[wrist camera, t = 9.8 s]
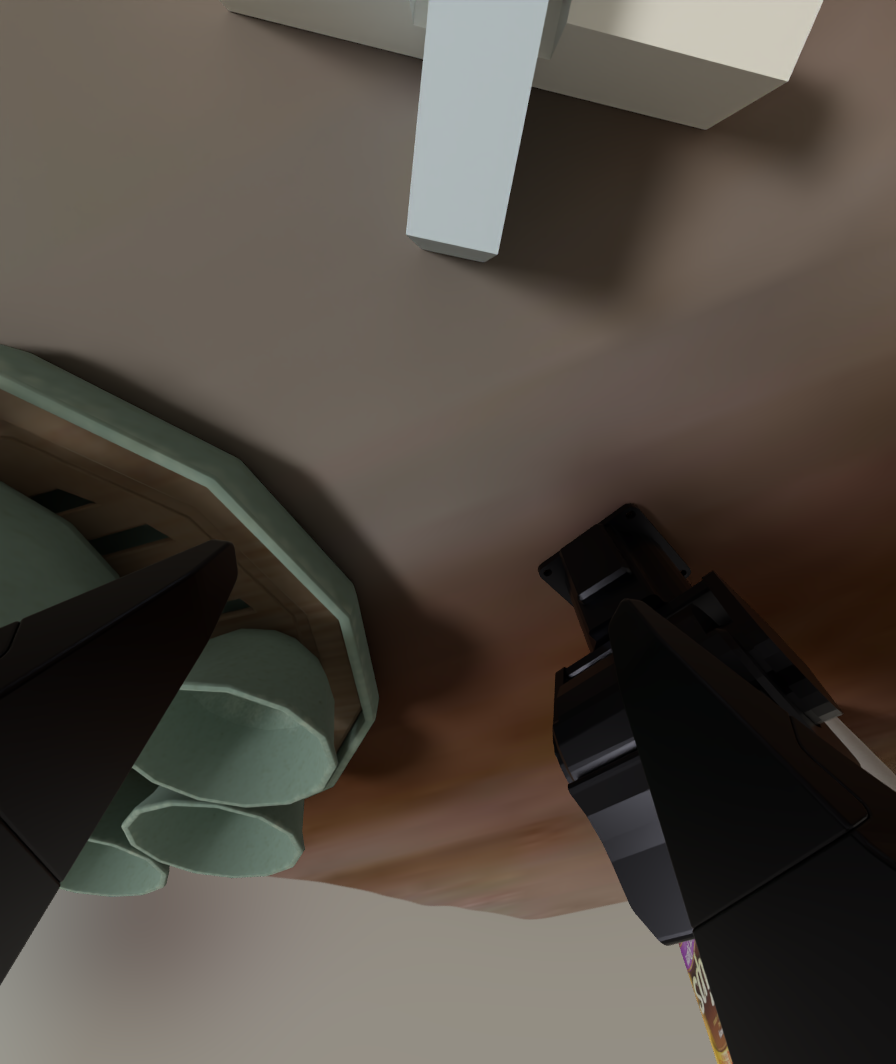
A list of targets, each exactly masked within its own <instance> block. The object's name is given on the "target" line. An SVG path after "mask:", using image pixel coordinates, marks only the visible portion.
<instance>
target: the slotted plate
mask: <svg viewBox="0 0 896 1064" xmlns="http://www.w3.org/2000/svg"><path fill="white" fill-rule="evenodd" d="M548 2H549V0H429V5H428V15H427V25H426V35H425V46H424V56H423V66H422V76H421V86H420V97H419V107H418V117H417V127H416V138H415V148H414V158H413V168H412V179H411V189H410V199H409V209H408V220H407V230H406V235H407V236H408V237H409V238H410V239H411V240H412V241H413V242H414V243H416V244H417V245H418V246H419V247H420V248H421V249H423V250H427V251H432V252H437V253H441V254H446V255H451V256H455V257H460V258H465V259H469V260H474V261H479V262H483V263H484V262H486V261H488V260H489V259H491V258H493V257H494V256H496V255H498V251H499V246H500V241H501V236H502V231H503V226H504V221H505V216H506V211H507V206H508V201H509V196H510V191H511V186H512V181H513V176H514V171H515V166H516V161H517V156H518V151H519V146H520V141H521V136H522V131H523V126H524V121H525V116H526V111H527V106H528V101H529V96H530V91H531V86H532V81H533V76H534V71H535V66H536V62H537V57H538V52H539V47H540V42H541V37H542V32H543V27H544V22H545V17H546V12H547V7H548Z"/></svg>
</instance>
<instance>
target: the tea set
mask: <svg viewBox="0 0 896 1064" xmlns="http://www.w3.org/2000/svg"><path fill="white" fill-rule="evenodd" d="M212 539H217V540H223V541H230V542H232V543H233V545H234V547H235V553H236V560H237V568H238V577H237V581H236V583H235V585H234V587H233V590H232V592H231V594H230V596H229V598H228V601H227V603H226V605H225V607H224V609H223V612H222V614H221V616H220V618H219V620H218V622H217V625H216V627H215V629H214V631H213V633H212V635H211V637H210V639H209V641H208V643H207V645H206V646H205V648H204V650H203V652H202V653H201V655H200V657H199V658H198V660H197V661H196V663H195V665H194V666H193V668H192V670H191V671H190V673H189V675H188V676H187V678H186V680H185V681H184V683H183V685H182V686H181V688H180V689H179V691H178V693H177V694H176V696H175V698H174V699H173V701H172V703H171V704H170V706H169V708H168V709H167V711H166V713H165V714H164V716H163V717H162V719H161V721H160V722H159V724H158V726H157V727H156V729H155V731H154V732H153V734H152V736H151V737H150V739H149V741H148V742H147V744H146V745H145V747H144V749H143V750H142V752H141V754H140V755H139V757H138V759H137V760H136V762H135V764H134V765H133V767H132V769H131V770H130V772H129V773H128V775H127V777H126V778H125V780H124V782H123V783H122V785H121V787H120V788H119V790H118V792H117V793H116V795H115V797H114V798H113V800H112V801H111V803H110V805H109V806H108V808H107V810H106V811H105V813H104V815H103V816H102V818H101V820H100V821H99V823H98V825H97V826H96V828H95V829H94V831H93V833H92V834H91V836H90V838H89V839H88V841H87V843H86V844H85V846H84V848H83V849H82V851H81V853H80V854H79V856H78V857H77V859H76V861H75V862H74V864H73V866H72V867H71V869H70V871H69V872H68V874H67V876H66V877H65V879H64V880H63V881H62V882H60V884H61V886H60V888H59V889H63V890H67V891H71V892H75V893H83V894H92V895H100V896H109V897H115V896H135V895H144V894H147V893H150V892H152V891H155V890H157V889H160V888H163V887H164V886H165V885H166V883H167V878H168V874H169V865H170V866H173V867H176V868H179V869H183V870H186V871H189V872H192V873H198V874H205V875H214V876H221V877H229V878H238V877H239V878H240V877H258V876H269V875H272V874H275V873H277V872H280V871H283V870H286V869H289V868H292V867H294V865H295V864H296V862H297V861H298V859H299V858H300V856H301V855H302V853H303V851H304V850H305V847H304V841H303V834H302V826H303V811H304V799H305V798H308V797H310V796H312V795H315V794H317V793H320V792H322V791H324V790H327V789H329V788H331V787H333V786H334V785H335V783H336V782H337V780H338V778H339V777H340V775H341V774H342V772H343V770H344V769H345V767H346V766H347V764H348V763H349V761H350V759H351V758H352V756H353V755H354V753H355V751H356V750H357V748H358V747H359V745H360V743H361V742H362V740H363V739H364V737H365V735H366V734H367V732H368V731H369V729H370V727H371V726H372V724H373V723H374V721H375V719H376V713H377V707H378V702H379V694H378V690H377V685H376V681H375V676H374V672H373V667H372V662H371V658H370V653H369V649H368V644H367V640H366V635H365V630H364V626H363V621H362V617H361V612H360V608H359V603H358V598H357V594H356V591H355V588H354V585H353V583H352V582H351V581H350V580H349V579H348V578H347V577H346V576H345V575H344V573H343V572H342V571H341V570H340V569H339V568H338V567H337V566H336V565H335V564H334V562H333V561H332V560H331V559H330V558H329V557H328V556H327V555H326V554H325V553H324V551H323V550H322V549H321V548H320V547H319V546H318V545H317V544H316V543H315V542H314V540H313V539H312V538H311V537H310V536H309V535H308V534H307V533H306V532H305V530H304V529H303V528H302V527H301V526H300V525H299V524H298V523H297V522H296V521H295V519H294V518H293V517H292V516H291V515H290V514H289V513H288V512H287V511H286V510H285V508H284V507H283V506H282V505H281V504H280V503H279V502H278V501H277V500H276V499H275V497H274V496H273V495H272V494H271V493H270V492H269V491H268V490H267V489H266V488H265V486H264V485H263V484H262V483H261V482H260V481H259V480H258V479H257V478H256V477H255V475H254V474H253V473H252V472H251V471H250V470H249V469H248V468H247V467H246V466H245V464H244V463H243V462H242V461H241V460H240V459H238V458H236V457H234V456H232V455H230V454H228V453H226V452H224V451H223V450H221V449H219V448H217V447H215V446H213V445H211V444H209V443H207V442H205V441H203V440H201V439H199V438H197V437H195V436H193V435H191V434H189V433H187V432H185V431H183V430H181V429H179V428H177V427H175V426H173V425H171V424H169V423H167V422H165V421H163V420H161V419H159V418H158V417H156V416H154V415H152V414H150V413H148V412H146V411H144V410H142V409H140V408H138V407H136V406H134V405H132V404H130V403H128V402H126V401H124V400H122V399H120V398H118V397H116V396H114V395H112V394H110V393H108V392H106V391H104V390H102V389H100V388H98V387H96V386H94V385H93V384H91V383H89V382H87V381H85V380H83V379H81V378H79V377H77V376H75V375H73V374H71V373H69V372H67V371H65V370H63V369H61V368H59V367H57V366H55V365H53V364H51V363H49V362H47V361H45V360H43V359H41V358H39V357H37V356H35V355H33V354H31V353H29V352H26V351H22V350H19V349H15V348H12V347H8V346H5V345H2V344H0V628H1V627H3V626H6V625H8V624H10V623H13V622H15V621H19V622H21V620H22V619H23V618H25V617H27V616H30V615H32V614H35V613H37V612H39V611H42V610H44V609H46V608H49V607H51V606H54V605H56V604H58V603H61V602H63V601H66V600H68V599H70V598H73V597H75V596H78V595H80V594H82V593H85V592H87V591H89V590H92V589H94V588H97V587H99V586H101V585H104V584H106V583H109V582H111V581H113V580H116V579H118V578H121V577H123V576H125V575H128V574H130V573H133V572H135V571H137V570H140V569H142V568H144V567H147V566H149V565H152V564H154V563H156V562H159V561H161V560H164V559H166V558H168V557H171V556H173V555H176V554H178V553H180V552H183V551H185V550H187V549H190V548H192V547H195V546H197V545H199V544H202V543H204V542H207V541H209V540H212Z"/></svg>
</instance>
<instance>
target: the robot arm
mask: <svg viewBox="0 0 896 1064" xmlns="http://www.w3.org/2000/svg"><path fill="white" fill-rule="evenodd" d="M630 511H633V512H632V514H631V515H628V516H626V514H627V513H628V512H630ZM547 569H550V571H548V572H544V571H545V570H547ZM681 570H682V571H681ZM680 571H681V572H680ZM538 572H539V575H540V577H541V578H542V579H543V580H544V581H545V582H547V583H548V584H549V585H550V586H551V587H552V588H553V589H554V590H555V591H557V592H558V593H559V594H560V595H561V596H562V597H563V598H564V599H565V600H567V601H568V602H569V603H570V604H571V605H572V606H573V607H574V609H575V612H576V615H577V617H578V620H579V623H580V625H581V628H582V631H583V634H584V636H585V639H586V642H587V644H588V647H589V650H590V653H589V654H588V655H586V656H585V657H583V658H582V659H580V660H579V661H577V662H575V663H574V664H572V665H571V666H569V667H568V668H566V667H564V668H562V669H561V670H559V671H558V672H556V675H555V696H554V718H553V744H554V751H555V755H556V757H557V759H558V762H559V764H560V767H561V769H562V771H563V773H564V775H565V777H566V779H567V781H568V782H569V784H568V790H569V792H570V794H571V795H572V797H573V798H574V799H575V801H576V802H577V803H578V805H579V806H580V808H581V809H582V810H583V812H584V813H585V814H586V816H587V817H588V819H589V821H590V822H591V824H592V826H593V828H594V829H595V831H596V833H597V834H598V836H599V838H600V840H601V841H602V843H603V845H604V848H605V850H606V852H607V854H608V856H609V858H610V860H611V862H612V865H613V867H614V869H615V872H616V874H617V876H618V879H619V881H620V883H621V885H622V888H623V890H624V892H625V895H626V897H627V899H628V902H629V904H630V906H631V908H632V909H633V911H634V912H635V914H636V915H637V916H638V917H639V918H640V919H641V921H643V923H644V924H645V925H646V926H647V927H648V929H649V930H650V931H651V932H652V933H653V934H654V936H655V937H656V938H657V939H658V940H659V941H660V942H661V943H662V944H664V945H667V946H669V945H673V944H677V943H681V942H686V941H690V940H694V939H695V942H696V945H697V948H698V951H699V955H700V958H701V961H702V965H703V968H704V971H705V974H706V978H707V981H708V984H709V988H710V991H711V994H712V997H713V1001H714V1004H715V1007H716V1011H717V1014H718V1017H719V1020H720V1024H721V1027H722V1030H723V1034H724V1037H725V1040H726V1043H727V1047H728V1050H729V1053H730V1057H731V1060H732V1063H733V1064H896V792H895V791H894V790H893V789H891V788H890V787H888V786H887V785H885V784H884V783H883V782H881V781H880V780H878V779H877V778H876V777H874V776H873V775H871V774H870V773H869V772H867V771H866V770H864V769H863V768H862V767H861V765H860V763H859V761H858V760H857V759H856V757H855V756H854V755H853V754H852V753H851V751H850V750H849V749H848V748H847V747H846V746H845V745H844V743H843V742H842V741H841V740H840V739H839V738H838V737H837V735H836V734H835V733H834V732H833V731H832V730H831V729H830V728H829V726H828V725H827V724H826V723H825V722H826V721H828V720H831V719H833V718H835V717H838V716H840V715H842V714H843V712H842V711H841V709H840V708H839V707H838V705H837V704H836V703H835V702H834V700H833V699H832V698H831V696H830V695H829V694H828V692H827V691H826V690H825V689H824V687H823V686H822V685H821V683H820V682H819V681H818V680H817V678H816V677H815V676H814V674H813V673H812V672H811V670H810V669H809V668H808V667H807V665H806V664H805V663H804V662H803V661H802V660H801V659H800V658H799V657H798V656H797V655H796V654H795V652H794V651H793V650H792V649H791V648H790V647H789V646H788V645H787V644H786V643H785V642H784V641H783V640H782V639H781V637H780V636H779V635H778V634H777V633H776V632H775V631H774V630H773V629H772V628H771V627H770V626H769V625H768V624H767V623H766V622H765V621H764V620H763V619H762V618H761V617H760V616H759V615H758V614H757V613H756V612H755V611H754V610H753V609H752V608H751V607H750V606H749V605H748V604H747V603H746V602H745V601H744V600H743V599H742V598H741V597H740V596H739V595H738V594H737V593H736V592H735V591H734V590H733V589H732V588H731V587H729V586H728V585H727V584H726V583H725V582H724V581H723V580H722V579H721V578H720V577H719V576H718V575H717V574H716V573H715V572H714V571H711V572H710V573H708V574H707V575H705V576H704V577H702V579H703V580H702V581H701V582H699V583H698V584H696V585H694V586H693V587H692V586H691V585H690V584H689V583H688V581H687V580H686V578H687V577H688V576H689V575H690V573H691V570H690V568H689V567H688V566H687V565H686V563H685V562H684V561H683V560H682V559H681V558H680V556H679V555H678V554H677V553H676V552H675V551H674V549H673V548H672V547H671V546H670V545H669V544H668V542H667V541H666V540H665V539H664V538H663V537H662V535H661V534H660V533H659V532H658V531H657V530H656V528H655V527H654V526H653V525H652V524H651V522H650V521H649V520H648V519H647V518H646V517H645V515H644V514H643V513H642V512H641V511H640V510H639V508H638V507H637V506H636V505H634V504H631V503H629V504H625V505H623V506H622V507H621V508H619V509H618V510H616V511H615V512H613V513H612V514H611V515H609V516H608V517H606V518H605V519H604V520H602V521H601V522H599V523H598V524H596V525H594V526H593V527H591V528H590V529H589V530H587V531H586V532H584V533H583V534H581V535H580V536H579V537H577V538H576V539H574V540H573V541H572V542H570V543H569V544H567V545H566V546H565V547H563V548H562V549H561V550H560V551H559V552H557V553H556V554H554V555H553V556H552V557H550V558H549V559H547V560H546V561H544V562H543V563H542V564H541V565H540V566H539V567H538ZM237 577H238V568H237V560H236V553H235V547H234V545H233V543H232V542H230V541H223V540H217V539H212V540H209V541H207V542H204V543H202V544H199V545H197V546H195V547H192V548H190V549H187V550H185V551H183V552H180V553H178V554H176V555H173V556H171V557H168V558H166V559H164V560H161V561H159V562H156V563H154V564H152V565H149V566H147V567H144V568H142V569H140V570H137V571H135V572H133V573H130V574H128V575H125V576H123V577H121V578H118V579H116V580H113V581H111V582H109V583H106V584H104V585H101V586H99V587H97V588H94V589H92V590H89V591H87V592H85V593H82V594H80V595H78V596H75V597H73V598H70V599H68V600H66V601H63V602H61V603H58V604H56V605H54V606H51V607H49V608H46V609H44V610H42V611H39V612H37V613H35V614H32V615H30V616H27V617H25V618H23V619H22V620H21V622H19V621H15V622H13V623H10V624H8V625H6V626H3V627H1V628H0V985H1V983H2V982H3V980H4V978H5V977H6V975H7V973H8V972H9V970H10V968H11V967H12V965H13V964H14V962H15V960H16V959H17V957H18V955H19V954H20V952H21V950H22V949H23V947H24V945H25V944H26V942H27V940H28V939H29V937H30V935H31V934H32V932H33V931H34V928H35V927H36V926H37V924H38V922H39V921H40V919H41V917H42V916H43V914H44V912H45V911H46V909H47V908H48V906H49V904H50V903H51V901H52V899H53V898H54V896H55V894H56V893H57V891H58V889H59V888H60V886H61V884H60V882H62V881H63V880H64V879H65V877H66V876H67V874H68V872H69V871H70V869H71V867H72V866H73V864H74V862H75V861H76V859H77V857H78V856H79V854H80V853H81V851H82V849H83V848H84V846H85V844H86V843H87V841H88V839H89V838H90V836H91V834H92V833H93V831H94V829H95V828H96V826H97V825H98V823H99V821H100V820H101V818H102V816H103V815H104V813H105V811H106V810H107V808H108V806H109V805H110V803H111V801H112V800H113V798H114V797H115V795H116V793H117V792H118V790H119V788H120V787H121V785H122V783H123V782H124V780H125V778H126V777H127V775H128V773H129V772H130V770H131V769H132V767H133V765H134V764H135V762H136V760H137V759H138V757H139V755H140V754H141V752H142V750H143V749H144V747H145V745H146V744H147V742H148V741H149V739H150V737H151V736H152V734H153V732H154V731H155V729H156V727H157V726H158V724H159V722H160V721H161V719H162V717H163V716H164V714H165V713H166V711H167V709H168V708H169V706H170V704H171V703H172V701H173V699H174V698H175V696H176V694H177V693H178V691H179V689H180V688H181V686H182V685H183V683H184V681H185V680H186V678H187V676H188V675H189V673H190V671H191V670H192V668H193V666H194V665H195V663H196V661H197V660H198V658H199V657H200V655H201V653H202V652H203V650H204V648H205V646H206V645H207V643H208V641H209V639H210V637H211V635H212V633H213V631H214V629H215V627H216V625H217V622H218V620H219V618H220V616H221V614H222V612H223V609H224V607H225V605H226V603H227V601H228V598H229V596H230V594H231V592H232V590H233V587H234V585H235V583H236V581H237Z"/></svg>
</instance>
